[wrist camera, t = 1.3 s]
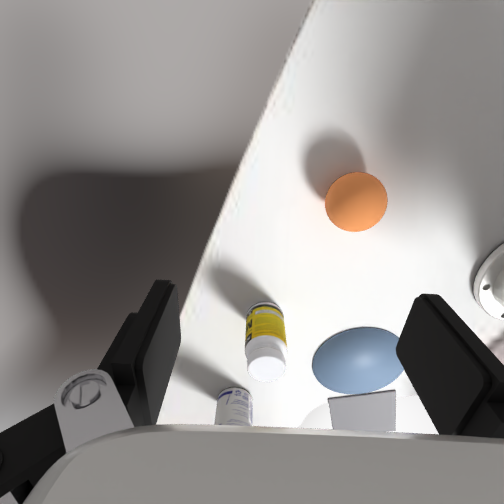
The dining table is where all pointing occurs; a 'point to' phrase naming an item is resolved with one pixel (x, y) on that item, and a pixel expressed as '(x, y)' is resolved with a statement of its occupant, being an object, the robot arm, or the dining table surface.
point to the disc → (358, 361)
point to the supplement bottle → (265, 342)
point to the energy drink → (234, 407)
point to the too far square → (364, 412)
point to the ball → (356, 201)
